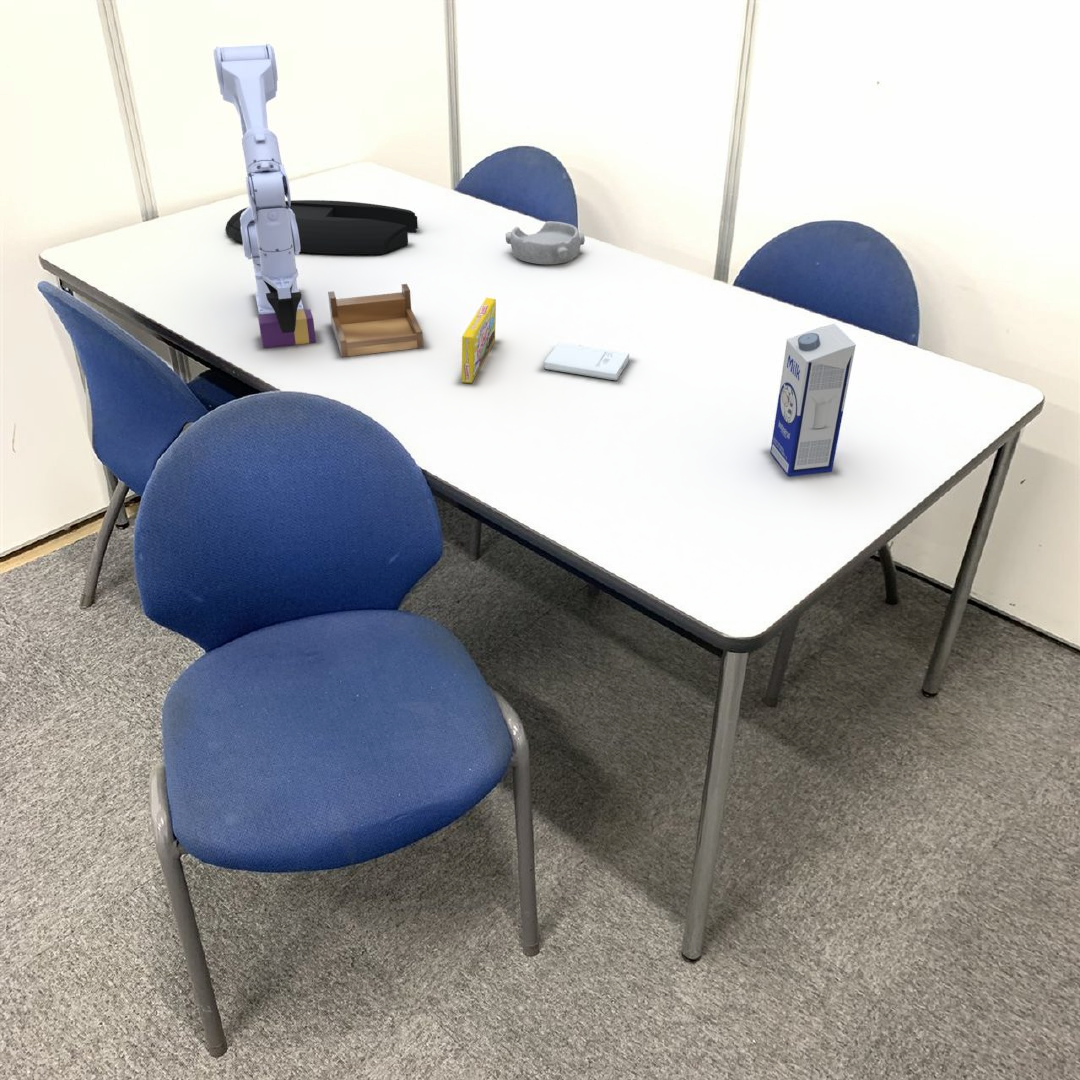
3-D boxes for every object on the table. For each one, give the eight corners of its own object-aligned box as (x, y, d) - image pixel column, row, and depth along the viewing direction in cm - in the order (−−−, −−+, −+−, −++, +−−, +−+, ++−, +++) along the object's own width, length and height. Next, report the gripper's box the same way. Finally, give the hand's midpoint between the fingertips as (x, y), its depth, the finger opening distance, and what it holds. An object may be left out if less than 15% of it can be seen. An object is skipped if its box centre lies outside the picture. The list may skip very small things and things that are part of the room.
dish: (498, 256, 225) (497, 232, 222) (542, 238, 233) (542, 214, 230) (552, 273, 217) (552, 249, 214) (595, 254, 226) (596, 230, 223)
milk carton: (832, 472, 157) (856, 343, 145) (788, 477, 156) (809, 347, 144) (812, 447, 163) (834, 321, 151) (769, 452, 161) (788, 325, 150)
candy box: (474, 384, 178) (472, 337, 173) (461, 383, 179) (459, 336, 174) (497, 342, 191) (496, 297, 186) (485, 341, 192) (484, 296, 187)
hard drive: (559, 350, 189) (629, 360, 186) (543, 370, 183) (616, 381, 179) (559, 341, 188) (629, 351, 185) (543, 361, 182) (616, 372, 178)
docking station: (249, 208, 247) (246, 186, 244) (426, 219, 243) (425, 196, 240) (207, 248, 227) (203, 224, 224) (399, 260, 222) (397, 236, 219)
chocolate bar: (261, 338, 192) (257, 314, 189) (313, 332, 194) (310, 308, 191) (263, 348, 189) (259, 324, 186) (316, 342, 191) (313, 318, 188)
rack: (331, 326, 196) (327, 291, 192) (409, 317, 199) (406, 283, 196) (341, 357, 186) (338, 321, 182) (423, 347, 189) (421, 312, 186)
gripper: (247, 233, 186) (259, 308, 194) (254, 263, 175) (266, 342, 183) (290, 229, 188) (299, 304, 196) (299, 259, 176) (309, 337, 184)
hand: (286, 322), depth 189 cm, fingers open, 7 cm apart
